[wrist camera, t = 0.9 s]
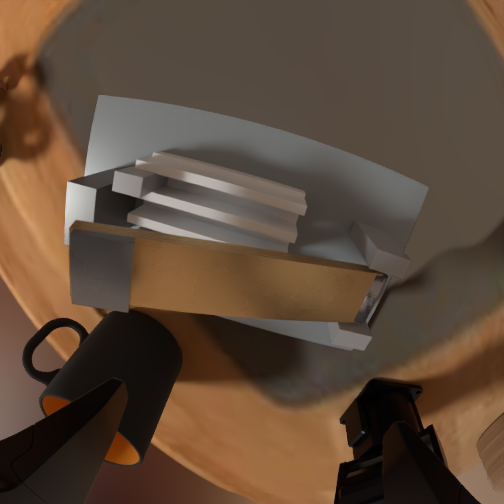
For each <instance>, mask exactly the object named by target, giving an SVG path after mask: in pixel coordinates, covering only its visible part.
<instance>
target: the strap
mask: <svg viewBox="0 0 504 504" xmlns="http://www.w3.org/2000/svg"><path fill="white" fill-rule="evenodd" d="M69 275H70V295H71V298H72V304H77V305H83V306H88V307H94V308H100V309H107V310H113V311H120V312H127V313H128V312H129V306H130V305H132V306H139V307H147V308H155V309H163V310H171V311H180V312H189V313H199V314H209V315H220V316H231V317H244V318H258V319H273V320H292V321H315V322H355V323H365V321H366V320H367V318H368V316H369V314H370V312H371V310H372V308H373V307H374V305H375V303H376V301H377V299H378V297H379V295H380V293H381V291H382V289H383V287H384V285H385V283H386V281H387V279H388V275H387V274H385V273H382V272H379V271H376V270H373V269H370V268H369V267H368V266H367V265H361V264H354V263H348V262H342V261H336V260H330V259H324V258H317V257H311V256H305V255H299V254H293V253H286V252H280V251H274V250H268V249H261V248H255V247H249V246H242V245H236V244H230V243H223V242H217V241H211V240H204V239H198V238H191V237H185V236H179V235H172V234H166V233H159V232H153V231H146V230H140V229H133V228H127V227H120V226H114V225H107V224H100V223H94V222H87V221H81V220H75V221H74V222H73V224H72V225H71V226H70V227H69Z"/></svg>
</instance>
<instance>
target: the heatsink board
mask: <svg viewBox="0 0 504 504" xmlns="http://www.w3.org/2000/svg"><path fill="white" fill-rule="evenodd" d="M428 189H429V187H428V186H425V185H423V184H421V183H419V182H417V181H415V180H413V179H411V178H408V177H406V176H404V175H402V174H400V173H398V172H395V171H393V170H391V169H388V168H386V167H384V166H381V165H379V164H376V163H374V162H372V161H369V160H367V159H364V158H362V157H359V156H357V155H354V154H351V153H348V152H346V151H343V150H341V149H338V148H335V147H332V146H329V145H327V144H324V143H321V142H318V141H315V140H312V139H309V138H306V137H303V136H300V135H297V134H293V133H290V132H287V131H283V130H280V129H277V128H273V127H270V126H266V125H262V124H259V123H255V122H251V121H247V120H244V119H240V118H235V117H231V116H227V115H223V114H219V113H214V112H209V111H205V110H200V109H195V108H190V107H184V106H179V105H173V104H167V103H161V102H155V101H148V100H141V99H133V98H124V97H116V96H106V95H99V97H98V101H97V105H96V110H95V115H94V119H93V124H92V130H91V135H90V141H89V147H88V153H87V160H86V167H85V175H84V177H81V178H77V179H74V180H71V181H68V182H67V194H66V210H65V245H68V246H69V227H70V226H71V225H72V224H73V222H74V221H75V220H81V221H87V222H94V223H100V224H107V225H114V226H120V227H127V228H133V229H140V230H146V231H153V232H159V233H166V234H172V235H179V236H185V237H191V238H198V239H204V240H211V241H217V242H223V243H230V244H236V245H242V246H249V247H255V248H261V249H268V250H274V251H280V252H286V253H293V254H299V255H305V256H311V257H317V258H324V259H330V260H336V261H342V262H348V263H354V264H361V265H367V266H368V267H369V268H370V269H373V270H376V271H379V272H382V273H385V274H387V275H388V279H387V281H386V283H385V285H384V287H383V289H382V291H381V293H380V295H379V297H378V299H377V301H376V303H375V305H374V307H373V308H372V310H371V312H370V314H369V316H368V318H367V320H366V321H365V323H355V322H315V321H292V320H273V319H258V318H244V317H231V316H220V315H216V316H219V317H223V318H226V319H229V320H233V321H236V322H240V323H243V324H246V325H250V326H254V327H257V328H261V329H264V330H268V331H272V332H275V333H279V334H283V335H287V336H291V337H295V338H299V339H303V340H307V341H311V342H315V343H319V344H323V345H327V346H332V347H336V348H341V349H345V350H350V351H352V350H353V348H354V349H359V350H363V351H364V350H365V348H366V346H367V345H368V343H369V342H370V340H371V338H372V335H371V332H370V330H369V327H368V322H369V320H370V318H371V316H372V315H373V313H374V311H375V309H376V307H377V305H378V303H379V301H380V299H381V298H382V296H383V294H384V292H385V290H386V288H387V286H388V284H389V282H390V280H391V278H392V276H395V277H398V278H401V279H404V278H405V275H406V273H407V271H408V269H409V267H410V265H411V263H412V261H411V260H410V259H409V257H408V256H407V255H406V254H405V253H404V250H405V247H406V245H407V242H408V240H409V238H410V236H411V233H412V231H413V228H414V226H415V224H416V221H417V219H418V216H419V213H420V211H421V208H422V206H423V203H424V200H425V198H426V195H427V192H428Z"/></svg>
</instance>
